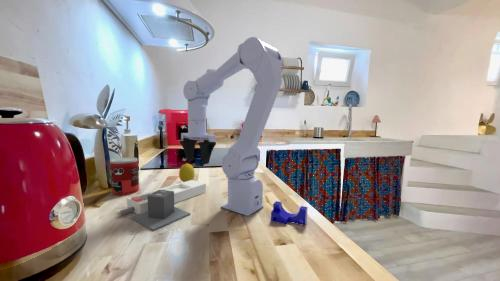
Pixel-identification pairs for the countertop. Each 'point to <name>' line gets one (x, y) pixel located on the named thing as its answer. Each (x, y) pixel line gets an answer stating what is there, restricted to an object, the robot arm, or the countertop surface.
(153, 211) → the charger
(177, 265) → the countertop surface
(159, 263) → the countertop surface
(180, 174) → the lemon
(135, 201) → the strip
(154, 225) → the mat
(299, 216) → the cable holder
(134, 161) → the canned food
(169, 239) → the countertop surface
